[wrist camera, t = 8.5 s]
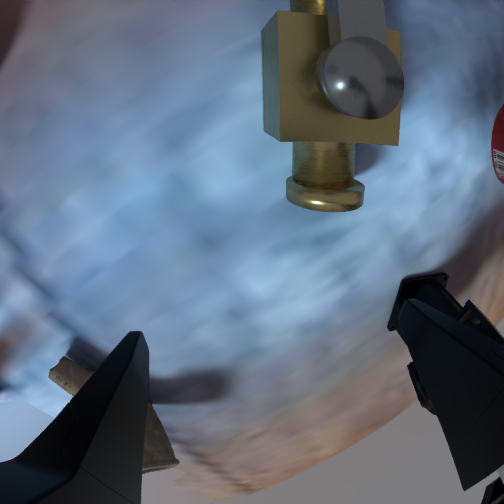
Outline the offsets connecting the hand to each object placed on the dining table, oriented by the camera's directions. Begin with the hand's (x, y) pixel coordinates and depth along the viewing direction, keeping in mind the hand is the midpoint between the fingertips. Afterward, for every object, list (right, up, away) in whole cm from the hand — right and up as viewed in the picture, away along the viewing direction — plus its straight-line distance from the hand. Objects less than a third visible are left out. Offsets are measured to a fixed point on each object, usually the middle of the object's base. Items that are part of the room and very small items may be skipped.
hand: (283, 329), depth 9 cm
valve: (+3, +14, +8) cm, 16 cm away
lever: (+4, +15, +1) cm, 15 cm away
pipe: (-16, -13, +20) cm, 29 cm away
